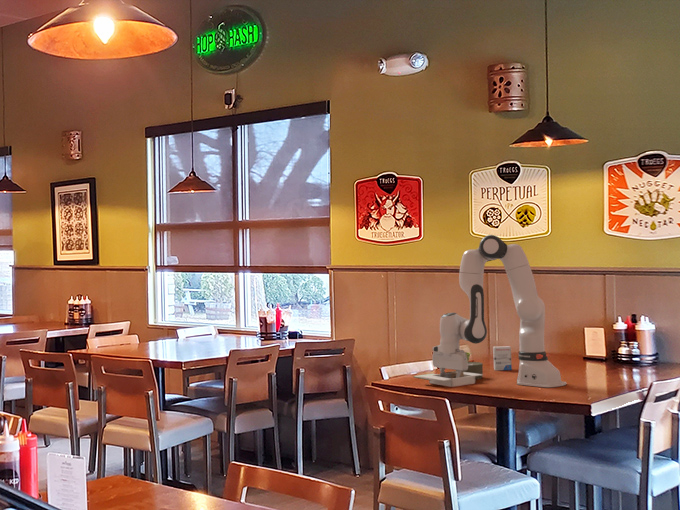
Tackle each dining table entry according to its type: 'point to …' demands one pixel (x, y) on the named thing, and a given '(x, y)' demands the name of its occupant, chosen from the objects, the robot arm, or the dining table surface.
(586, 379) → the dining table surface
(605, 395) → the dining table surface
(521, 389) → the dining table surface
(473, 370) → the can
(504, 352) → the ink box
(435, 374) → the sage mat
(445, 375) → the walnut box
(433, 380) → the grey tray
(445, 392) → the dining table surface
